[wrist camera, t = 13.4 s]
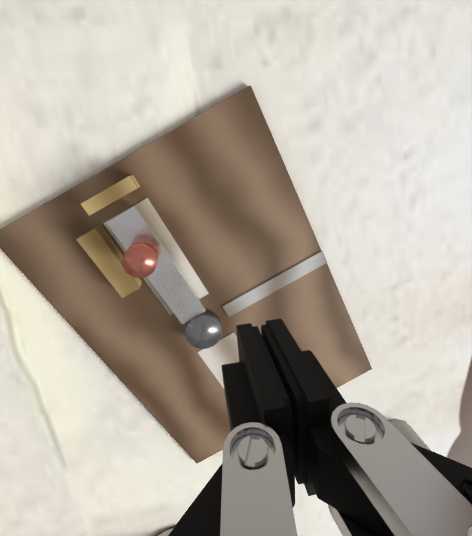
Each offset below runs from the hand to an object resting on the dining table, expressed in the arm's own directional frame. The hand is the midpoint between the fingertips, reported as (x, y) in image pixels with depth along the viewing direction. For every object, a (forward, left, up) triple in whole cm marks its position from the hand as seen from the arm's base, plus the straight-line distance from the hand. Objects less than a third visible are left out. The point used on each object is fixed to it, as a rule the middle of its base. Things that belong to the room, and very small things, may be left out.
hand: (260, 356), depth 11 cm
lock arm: (-6, -3, -21) cm, 22 cm away
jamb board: (-4, -9, -22) cm, 24 cm away
